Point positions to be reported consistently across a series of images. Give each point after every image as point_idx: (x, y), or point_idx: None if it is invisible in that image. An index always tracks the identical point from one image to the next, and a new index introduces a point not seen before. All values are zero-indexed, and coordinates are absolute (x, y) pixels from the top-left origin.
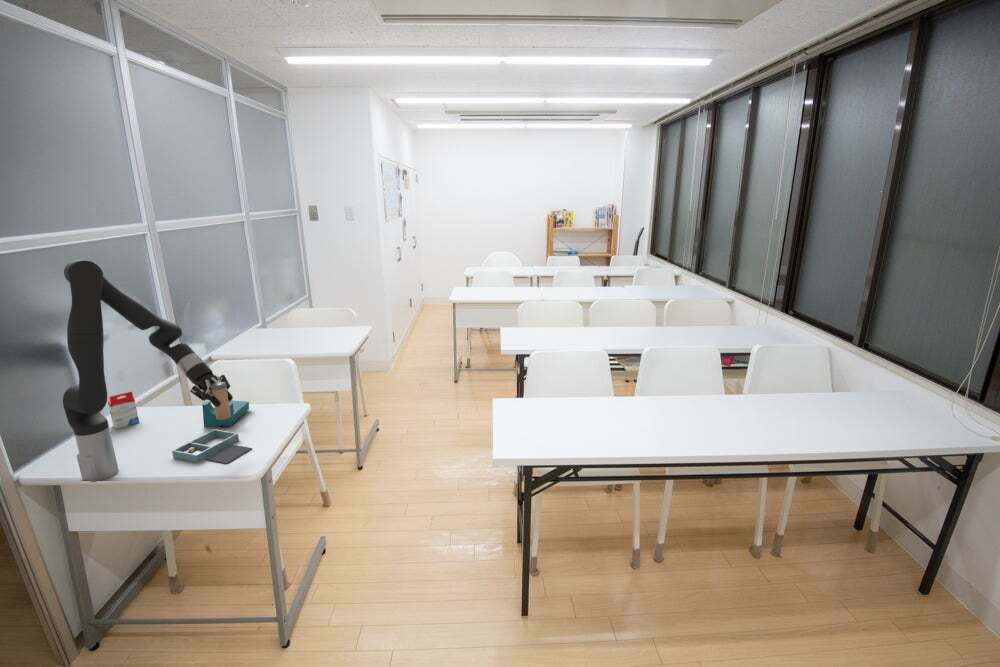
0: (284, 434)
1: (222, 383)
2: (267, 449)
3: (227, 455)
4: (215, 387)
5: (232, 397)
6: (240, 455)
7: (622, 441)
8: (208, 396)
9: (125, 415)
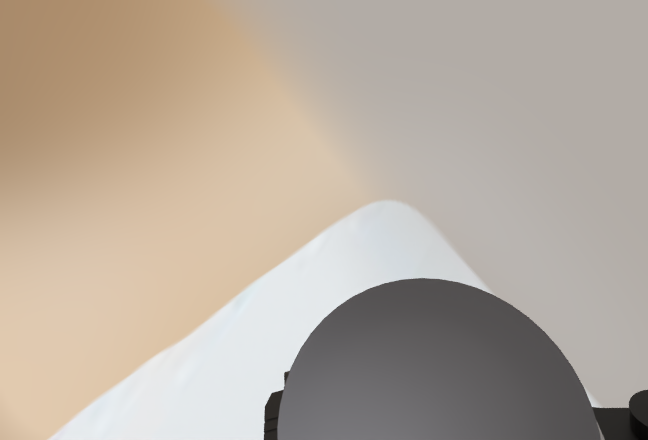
0: (116, 394)
1: (345, 411)
2: (259, 319)
3: None
4: (534, 330)
5: (286, 372)
6: None
7: None
8: (608, 422)
9: None
